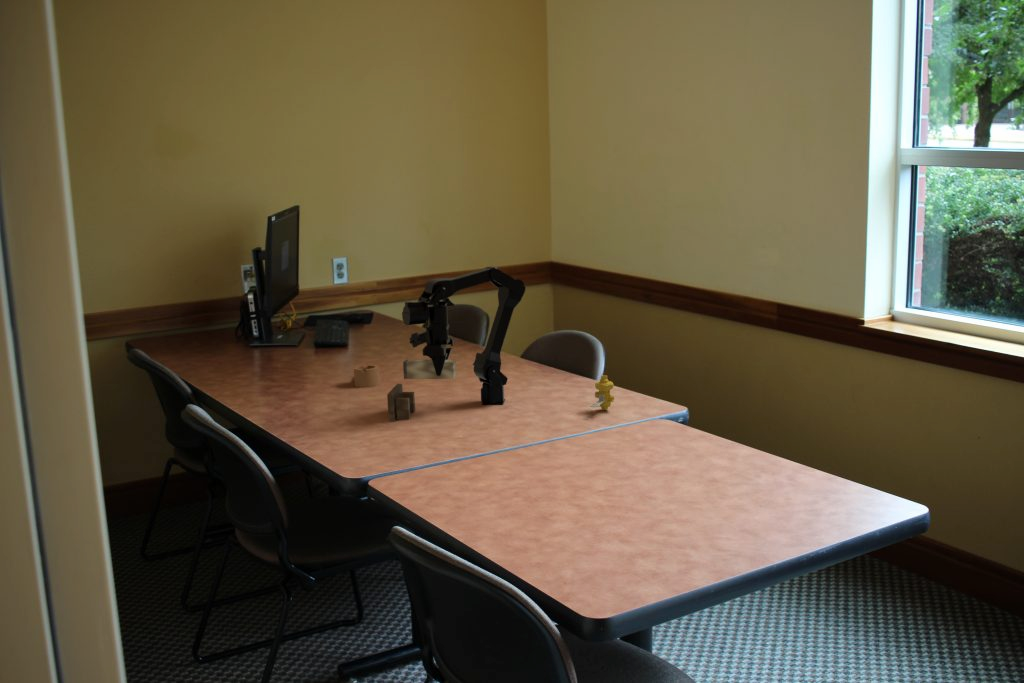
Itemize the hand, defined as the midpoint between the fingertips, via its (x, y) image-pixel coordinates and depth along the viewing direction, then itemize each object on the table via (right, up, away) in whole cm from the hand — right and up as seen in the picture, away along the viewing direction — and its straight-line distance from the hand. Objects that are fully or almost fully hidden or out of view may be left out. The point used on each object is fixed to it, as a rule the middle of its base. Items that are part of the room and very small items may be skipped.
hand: (439, 374), depth 295 cm
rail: (-3, -1, 0) cm, 3 cm away
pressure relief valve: (+47, -11, -5) cm, 49 cm away
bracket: (-27, -5, +42) cm, 50 cm away
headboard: (-11, -12, -2) cm, 16 cm away
